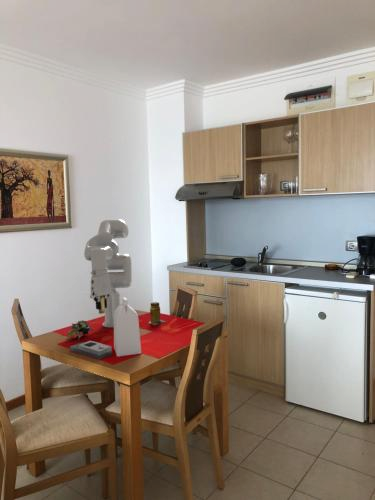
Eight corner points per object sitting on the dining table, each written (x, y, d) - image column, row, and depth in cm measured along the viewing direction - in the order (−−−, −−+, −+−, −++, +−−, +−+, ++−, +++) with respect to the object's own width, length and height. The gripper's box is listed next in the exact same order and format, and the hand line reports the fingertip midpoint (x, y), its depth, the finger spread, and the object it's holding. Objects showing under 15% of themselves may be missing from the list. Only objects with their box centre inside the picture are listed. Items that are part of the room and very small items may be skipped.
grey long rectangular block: (70, 350, 206) (69, 341, 205) (82, 345, 212) (82, 337, 211) (99, 359, 192) (99, 350, 192) (111, 354, 198) (111, 345, 198)
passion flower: (84, 345, 229) (97, 326, 229) (78, 348, 218) (91, 329, 219) (68, 333, 230) (80, 315, 230) (61, 336, 219) (74, 317, 219)
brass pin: (97, 312, 211) (96, 295, 210) (103, 311, 212) (102, 294, 211) (100, 313, 208) (99, 296, 207) (106, 312, 210) (105, 295, 209)
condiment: (147, 322, 250) (147, 303, 249) (159, 319, 255) (158, 300, 254) (154, 325, 244) (153, 305, 243) (166, 322, 249) (165, 302, 248)
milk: (141, 353, 199) (138, 300, 196) (117, 356, 196) (114, 302, 193) (137, 345, 210) (134, 295, 207) (114, 348, 207) (111, 297, 204)
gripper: (91, 275, 199) (93, 313, 201) (117, 270, 212) (118, 305, 214) (81, 274, 204) (83, 311, 206) (107, 269, 217) (108, 304, 219)
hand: (101, 308), depth 210 cm, fingers closed on brass pin, 3 cm apart
